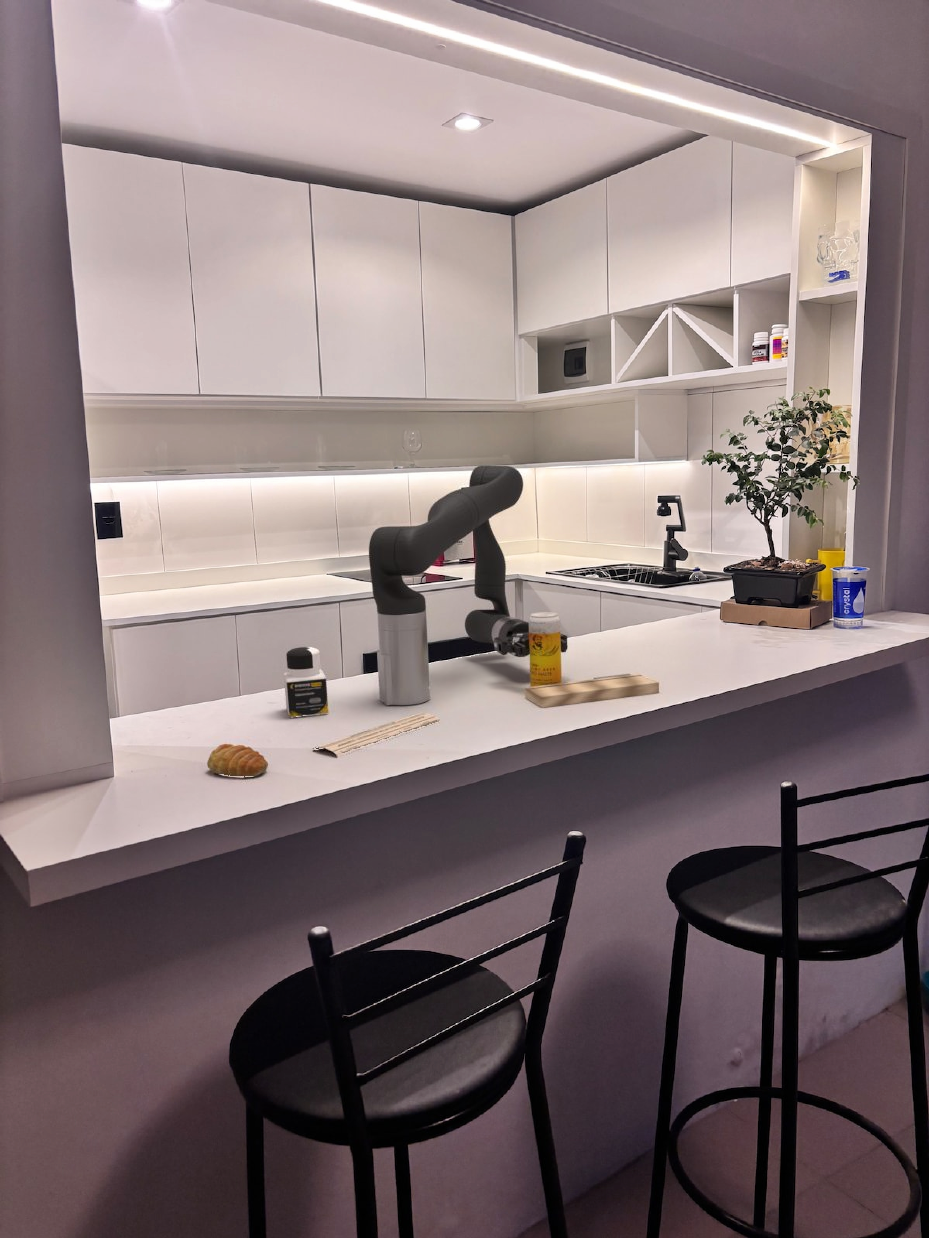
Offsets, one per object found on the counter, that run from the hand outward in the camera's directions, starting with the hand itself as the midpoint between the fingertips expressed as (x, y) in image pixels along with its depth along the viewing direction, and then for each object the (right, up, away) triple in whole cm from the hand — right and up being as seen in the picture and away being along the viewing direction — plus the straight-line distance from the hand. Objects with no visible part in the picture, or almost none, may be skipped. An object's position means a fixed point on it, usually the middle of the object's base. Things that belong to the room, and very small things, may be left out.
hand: (544, 649), depth 172 cm
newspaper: (-30, -14, -24) cm, 41 cm away
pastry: (-49, -17, -39) cm, 66 cm away
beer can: (0, -8, +1) cm, 8 cm away
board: (+9, -9, -5) cm, 13 cm away
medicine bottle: (-45, -12, -8) cm, 47 cm away
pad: (+16, -7, +6) cm, 18 cm away
